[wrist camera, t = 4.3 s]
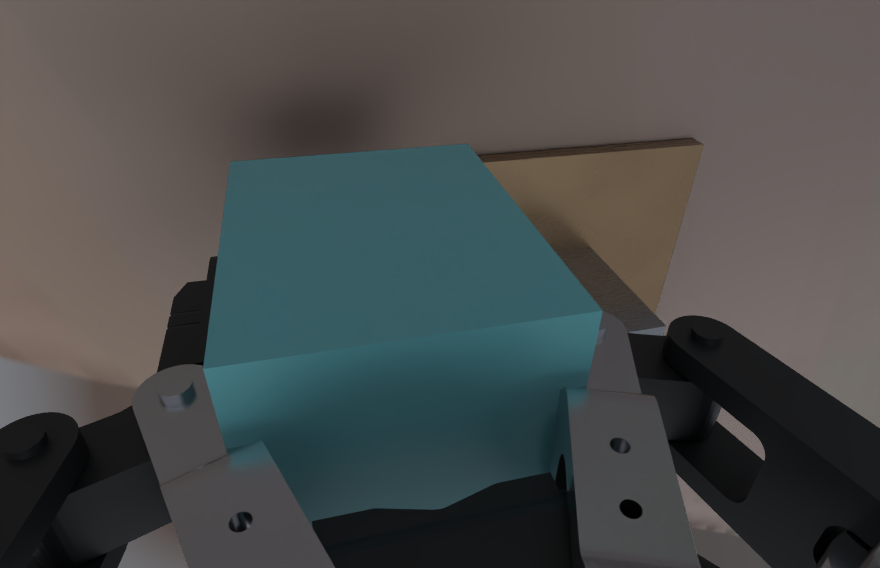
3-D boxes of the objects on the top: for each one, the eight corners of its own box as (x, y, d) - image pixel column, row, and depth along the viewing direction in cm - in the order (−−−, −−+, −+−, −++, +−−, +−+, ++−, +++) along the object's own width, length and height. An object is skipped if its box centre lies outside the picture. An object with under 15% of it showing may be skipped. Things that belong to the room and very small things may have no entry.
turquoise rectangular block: (467, 143, 13) (602, 310, 8) (460, 323, 16) (555, 534, 11) (230, 161, 12) (203, 369, 7) (267, 350, 15) (268, 600, 10)
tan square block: (692, 138, 26) (811, 204, 21) (636, 341, 33) (715, 433, 28) (440, 158, 24) (498, 240, 18) (434, 375, 30) (476, 485, 25)
